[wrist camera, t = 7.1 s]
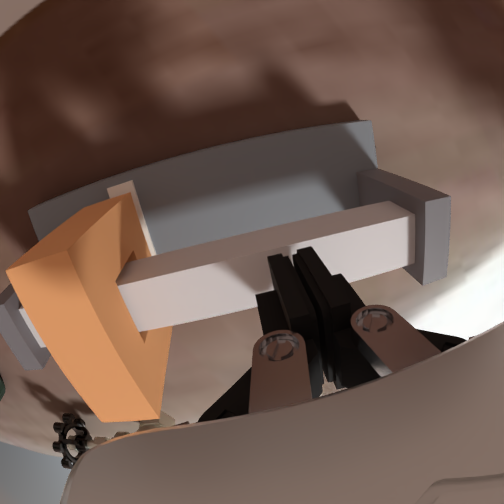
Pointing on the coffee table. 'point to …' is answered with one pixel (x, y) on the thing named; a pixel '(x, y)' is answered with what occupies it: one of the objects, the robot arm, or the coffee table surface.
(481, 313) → the coffee table surface
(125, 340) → the orange rectangular prism
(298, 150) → the slider rail fixture
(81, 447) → the valve
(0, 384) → the coffee jar
